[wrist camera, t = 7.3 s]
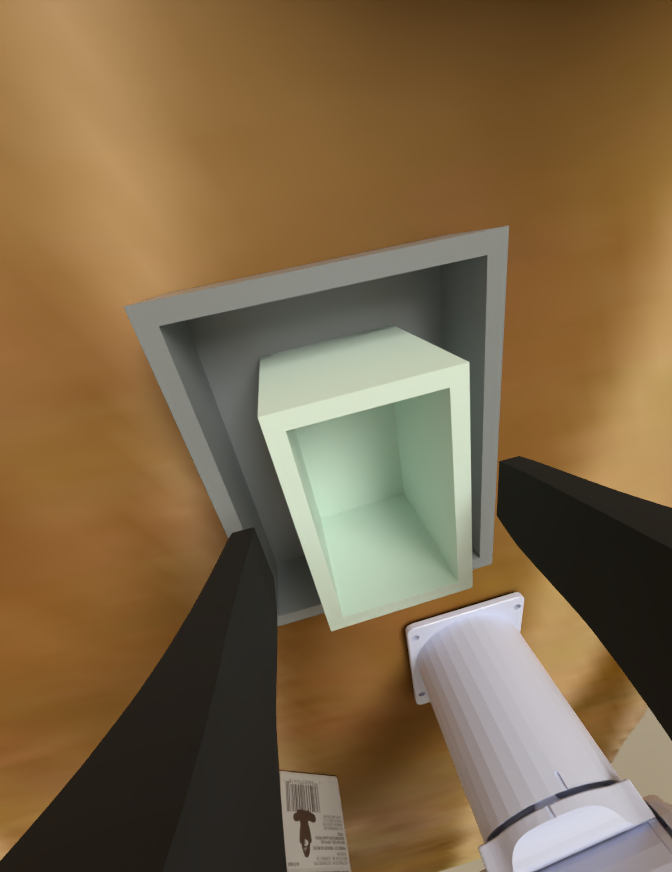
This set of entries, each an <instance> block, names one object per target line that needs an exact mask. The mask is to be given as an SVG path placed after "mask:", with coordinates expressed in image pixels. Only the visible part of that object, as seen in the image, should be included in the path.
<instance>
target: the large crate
mask: <svg viewBox="0 0 672 872" xmlns="http://www.w3.org/2000/svg"><path fill="white" fill-rule="evenodd" d="M508 236H509V226H503V227H496V228H490V229H483V230H476V231H470V232H463V233H456V234H450V235H444V236H440V237H435V238H430V239H425V240H420V241H416V242H411V243H406V244H401V245H397V246H392V247H387V248H382V249H377V250H373V251H368V252H363V253H358V254H354V255H349V256H344V257H339V258H335V259H330V260H325V261H320V262H315V263H311V264H306V265H301V266H296V267H292V268H287V269H282V270H277V271H272V272H268V273H263V274H258V275H253V276H249V277H244V278H239V279H234V280H229V281H225V282H220V283H215V284H210V285H206V286H201V287H196V288H191V289H186V290H182V291H177V292H172V293H167V294H163V295H159V296H156V297H153V298H149V299H146V300H143V301H140V302H137V303H134V304H130V305H127V306H124V308H125V311H126V313H127V315H128V317H129V319H130V322H131V324H132V326H133V328H134V331H135V333H136V335H137V337H138V339H139V342H140V344H141V346H142V348H143V351H144V353H145V355H146V357H147V359H148V362H149V364H150V366H151V368H152V371H153V373H154V375H155V377H156V379H157V382H158V384H159V386H160V388H161V391H162V393H163V395H164V397H165V399H166V402H167V404H168V406H169V408H170V410H171V413H172V415H173V417H174V419H175V422H176V424H177V426H178V428H179V430H180V433H181V435H182V437H183V439H184V442H185V444H186V446H187V448H188V450H189V453H190V455H191V457H192V459H193V462H194V464H195V466H196V468H197V470H198V473H199V475H200V477H201V479H202V482H203V484H204V486H205V488H206V490H207V493H208V495H209V497H210V499H211V501H212V504H213V506H214V508H215V510H216V513H217V515H218V517H219V519H220V521H221V524H222V526H223V528H224V530H225V533H226V535H227V537H228V539H229V537H230V535H231V534H232V533H234V532H237V531H241V530H245V529H249V528H252V527H254V528H255V531H256V533H257V536H258V538H259V541H260V543H261V546H262V548H263V551H264V554H265V556H266V559H267V561H268V564H269V566H270V569H271V572H272V574H273V577H274V583H275V593H276V603H277V627H278V626H282V625H285V624H288V623H292V622H295V621H299V620H302V619H305V618H309V617H312V616H316V615H319V614H323V613H325V612H324V609H323V606H322V603H321V600H320V597H319V595H318V592H317V589H316V586H315V583H314V580H313V577H312V574H311V571H310V568H309V566H308V563H307V560H306V557H305V554H304V551H303V548H302V545H301V542H300V539H299V536H298V534H297V531H296V528H295V525H294V522H293V519H292V516H291V513H290V510H289V507H288V504H287V502H286V499H285V496H284V493H283V490H282V487H281V484H280V481H279V478H278V475H277V473H276V470H275V467H274V464H273V461H272V458H271V455H270V452H269V449H268V446H267V443H266V441H265V438H264V435H263V432H262V429H261V426H260V423H259V420H258V393H259V368H260V357H263V356H267V355H271V354H275V353H279V352H283V351H287V350H291V349H295V348H299V347H303V346H307V345H311V344H315V343H319V342H323V341H327V340H331V339H335V338H339V337H343V336H347V335H351V334H355V333H360V332H364V331H368V330H372V329H376V328H380V327H384V326H388V325H394V326H396V327H398V328H400V329H402V330H404V331H406V332H408V333H410V334H413V335H415V336H417V337H419V338H421V339H423V340H425V341H427V342H429V343H431V344H433V345H435V346H437V347H439V348H441V349H443V350H445V351H448V352H450V353H452V354H454V355H456V356H458V357H460V358H462V359H464V360H466V361H468V362H469V371H470V440H471V510H472V569H476V568H479V567H483V566H486V565H489V564H492V554H493V534H494V514H495V494H496V474H497V454H498V435H499V415H500V395H501V375H502V355H503V335H504V316H505V296H506V276H507V256H508Z"/></svg>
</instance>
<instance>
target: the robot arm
mask: <svg viewBox="0 0 672 872" xmlns="http://www.w3.org/2000/svg"><path fill="white" fill-rule="evenodd" d="M497 516H498V518H499V519H500V521H501V523H502V524H503V526H504V527H505V529H506V530H507V532H508V533H509V534H510V536H511V537H512V539H513V540H514V541H515V543H516V544H517V545H518V547H519V548H520V549H521V550H522V551H523V552H524V554H525V555H526V556H527V557H528V558H529V559H530V560H531V561H532V563H533V564H534V565H535V566H536V567H537V568H538V569H539V570H540V572H541V573H542V574H543V575H544V576H545V577H546V578H547V579H548V580H549V582H550V583H551V584H552V585H553V586H554V587H555V588H556V589H557V590H558V592H559V593H560V594H561V595H562V596H563V597H564V598H565V599H566V600H567V602H568V603H569V604H570V605H571V606H572V607H573V608H574V609H575V610H576V611H577V613H578V614H579V615H580V616H581V617H582V619H583V620H584V621H585V622H586V623H587V624H588V626H589V627H590V628H591V629H592V631H593V632H594V633H595V634H596V636H597V637H598V638H599V640H600V641H601V642H602V644H603V645H604V646H605V648H606V649H607V650H608V652H609V653H610V654H611V656H612V657H613V658H614V660H615V661H616V662H617V664H618V665H619V666H620V668H621V669H622V670H623V672H624V673H625V675H626V676H627V677H628V679H629V680H630V682H631V683H632V684H633V686H634V687H635V688H636V690H637V691H638V693H639V694H640V695H641V697H642V698H643V700H644V701H645V702H646V704H647V705H648V707H649V708H650V709H651V711H652V712H653V713H654V715H655V717H656V718H657V720H658V721H659V723H660V724H661V725H662V727H663V728H664V730H665V731H666V733H667V734H668V736H669V737H670V739H671V740H672V508H670V507H667V506H663V505H660V504H657V503H654V502H651V501H648V500H644V499H641V498H638V497H635V496H632V495H629V494H626V493H623V492H620V491H617V490H614V489H611V488H608V487H605V486H602V485H600V484H597V483H594V482H591V481H588V480H586V479H583V478H580V477H577V476H575V475H572V474H569V473H566V472H564V471H561V470H558V469H556V468H553V467H550V466H547V465H544V464H542V463H539V462H536V461H533V460H530V459H527V458H523V457H520V456H518V457H514V458H511V459H507V460H503V461H499V481H498V502H497ZM523 605H524V597H523V596H522V595H521V594H520V593H518V592H515V593H511V594H508V595H505V596H501V597H498V598H495V599H491V600H488V601H485V602H481V603H478V604H475V605H472V606H468V607H465V608H462V609H458V610H455V611H452V612H448V613H445V614H442V615H438V616H435V617H432V618H429V619H425V620H422V621H419V622H415V623H412V624H410V625H408V626H407V627H406V630H405V631H406V639H407V646H408V653H409V660H410V667H411V674H412V681H413V689H414V696H415V700H416V703H417V704H419V705H422V704H425V703H428V702H431V705H432V707H433V710H434V713H435V715H436V718H437V721H438V723H439V726H440V729H441V731H442V734H443V736H444V739H445V742H446V744H447V747H448V750H449V752H450V755H451V758H452V760H453V763H454V766H455V768H456V771H457V774H458V776H459V779H460V781H461V784H462V787H463V789H464V792H465V795H466V797H467V799H468V801H469V804H470V806H471V809H472V811H473V814H474V817H475V819H476V822H477V824H478V827H479V830H480V832H481V835H482V838H483V840H484V844H482V845H480V846H479V848H478V849H479V852H480V855H481V858H482V860H483V863H484V866H485V869H484V870H482V871H480V872H672V805H671V804H669V803H667V802H664V801H663V800H662V799H661V798H659V797H658V796H656V795H648V796H646V797H644V798H642V797H641V795H640V794H639V793H638V791H637V790H636V788H635V787H634V786H633V784H632V783H631V781H630V780H628V779H625V780H621V779H620V777H619V776H618V774H617V773H616V772H615V770H614V769H613V767H612V766H611V764H610V763H609V761H608V760H607V758H606V757H605V755H604V754H603V753H602V751H601V750H600V748H599V747H598V745H597V744H596V742H595V741H594V740H593V738H592V737H591V735H590V734H589V732H588V731H587V729H586V728H585V727H584V725H583V724H582V722H581V721H580V719H579V718H578V716H577V715H576V714H575V712H574V711H573V709H572V708H571V706H570V705H569V703H568V702H567V701H566V699H565V698H564V696H563V695H562V693H561V692H560V690H559V689H558V687H557V686H556V685H555V683H554V682H553V680H552V679H551V677H550V676H549V674H548V673H547V672H546V670H545V669H544V667H543V666H542V664H541V663H540V661H539V660H538V659H537V657H536V656H535V654H534V653H533V651H532V650H531V648H530V647H529V646H528V644H527V643H526V641H525V640H524V638H523V637H522V635H521V634H520V629H521V621H522V613H523ZM276 679H277V603H276V593H275V583H274V577H273V574H272V572H271V569H270V566H269V564H268V561H267V559H266V556H265V554H264V551H263V548H262V546H261V543H260V541H259V538H258V536H257V533H256V531H255V528H254V527H252V528H249V529H245V530H241V531H237V532H234V533H232V534H231V535H230V537H229V539H228V541H227V543H226V545H225V547H224V549H223V551H222V553H221V555H220V557H219V559H218V561H217V563H216V565H215V567H214V569H213V571H212V573H211V575H210V576H209V578H208V580H207V582H206V584H205V586H204V588H203V589H202V591H201V593H200V595H199V597H198V599H197V600H196V602H195V604H194V606H193V608H192V609H191V611H190V613H189V614H188V616H187V618H186V619H185V621H184V623H183V624H182V626H181V628H180V629H179V631H178V633H177V634H176V636H175V638H174V639H173V641H172V643H171V644H170V646H169V647H168V649H167V650H166V652H165V653H164V655H163V657H162V658H161V660H160V661H159V663H158V664H157V666H156V667H155V669H154V670H153V672H152V673H151V675H150V676H149V677H148V679H147V680H146V682H145V683H144V685H143V686H142V687H141V689H140V690H139V692H138V693H137V695H136V696H135V697H134V699H133V700H132V701H131V703H130V704H129V705H128V707H127V708H126V709H125V711H124V712H123V713H122V715H121V716H120V717H119V719H118V720H117V721H116V723H115V724H114V725H113V727H112V728H111V729H110V730H109V732H108V733H107V734H106V736H105V737H104V738H103V740H102V741H101V742H100V743H99V745H98V746H97V747H96V749H95V750H94V751H93V752H92V754H91V755H90V756H89V758H88V759H87V760H86V761H85V763H84V764H83V765H82V766H81V768H80V769H79V770H78V771H77V772H76V774H75V775H74V776H73V777H72V778H71V780H70V781H69V782H68V783H67V784H66V786H65V787H64V788H63V789H62V790H61V792H60V793H59V794H58V795H57V796H56V798H55V799H54V800H53V801H52V802H51V804H50V805H49V806H48V807H47V808H46V809H45V810H44V812H43V813H42V814H41V815H40V816H39V817H38V819H37V820H36V821H35V822H34V823H33V824H32V826H31V827H30V828H29V829H28V830H27V831H26V833H25V834H24V835H23V836H22V837H21V838H20V839H19V841H18V842H17V843H16V844H15V845H14V846H13V847H12V848H11V850H10V851H9V852H8V853H7V854H6V855H5V856H4V857H3V859H2V860H1V861H0V872H287V864H286V853H285V842H284V830H283V817H282V804H281V790H280V777H279V762H278V746H277V731H276Z"/></svg>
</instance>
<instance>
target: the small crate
mask: <svg viewBox="0 0 672 872" xmlns="http://www.w3.org/2000/svg"><path fill="white" fill-rule="evenodd" d="M258 420H259V423H260V426H261V429H262V432H263V435H264V438H265V441H266V443H267V446H268V449H269V452H270V455H271V458H272V461H273V464H274V467H275V470H276V473H277V475H278V478H279V481H280V484H281V487H282V490H283V493H284V496H285V499H286V502H287V504H288V507H289V510H290V513H291V516H292V519H293V522H294V525H295V528H296V531H297V534H298V536H299V539H300V542H301V545H302V548H303V551H304V554H305V557H306V560H307V563H308V566H309V568H310V571H311V574H312V577H313V580H314V583H315V586H316V589H317V592H318V595H319V597H320V600H321V603H322V606H323V609H324V612H325V615H326V618H327V621H328V624H329V627H330V629H331V631H334V630H337V629H341V628H344V627H347V626H350V625H353V624H357V623H360V622H363V621H366V620H370V619H373V618H376V617H379V616H382V615H386V614H389V613H392V612H395V611H398V610H402V609H405V608H408V607H411V606H415V605H418V604H421V603H424V602H427V601H431V600H434V599H437V598H440V597H443V596H447V595H450V594H453V593H456V592H460V591H463V590H466V589H469V588H472V587H473V579H472V510H471V440H470V371H469V362H468V361H466V360H464V359H462V358H460V357H458V356H456V355H454V354H452V353H450V352H448V351H445V350H443V349H441V348H439V347H437V346H435V345H433V344H431V343H429V342H427V341H425V340H423V339H421V338H419V337H417V336H415V335H413V334H410V333H408V332H406V331H404V330H402V329H400V328H398V327H396V326H394V325H388V326H384V327H380V328H376V329H372V330H368V331H364V332H360V333H355V334H351V335H347V336H343V337H339V338H335V339H331V340H327V341H323V342H319V343H315V344H311V345H307V346H303V347H299V348H295V349H291V350H287V351H283V352H279V353H275V354H271V355H267V356H263V357H260V368H259V393H258Z"/></svg>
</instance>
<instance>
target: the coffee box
mask: <svg viewBox="0 0 672 872" xmlns="http://www.w3.org/2000/svg"><path fill="white" fill-rule="evenodd" d="M279 777H280V790H281V804H282V817H283V830H284V842H285V853H286V864H287V872H351V867H350V860H349V854H348V847H347V840H346V833H345V826H344V820H343V813H342V806H341V799H340V792H339V786H338V780H337V777H335V776H327V775H318V774H307V773H298V772H289V771H279Z"/></svg>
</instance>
